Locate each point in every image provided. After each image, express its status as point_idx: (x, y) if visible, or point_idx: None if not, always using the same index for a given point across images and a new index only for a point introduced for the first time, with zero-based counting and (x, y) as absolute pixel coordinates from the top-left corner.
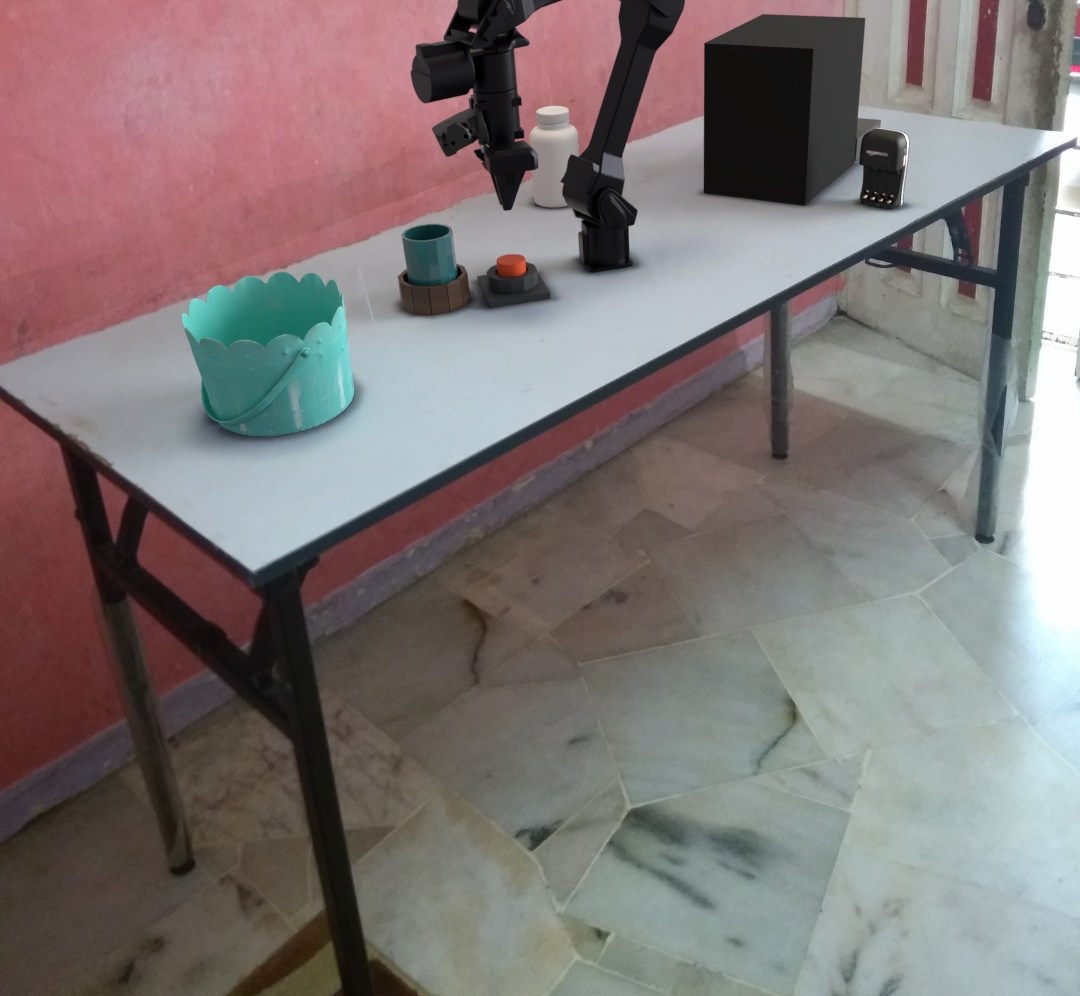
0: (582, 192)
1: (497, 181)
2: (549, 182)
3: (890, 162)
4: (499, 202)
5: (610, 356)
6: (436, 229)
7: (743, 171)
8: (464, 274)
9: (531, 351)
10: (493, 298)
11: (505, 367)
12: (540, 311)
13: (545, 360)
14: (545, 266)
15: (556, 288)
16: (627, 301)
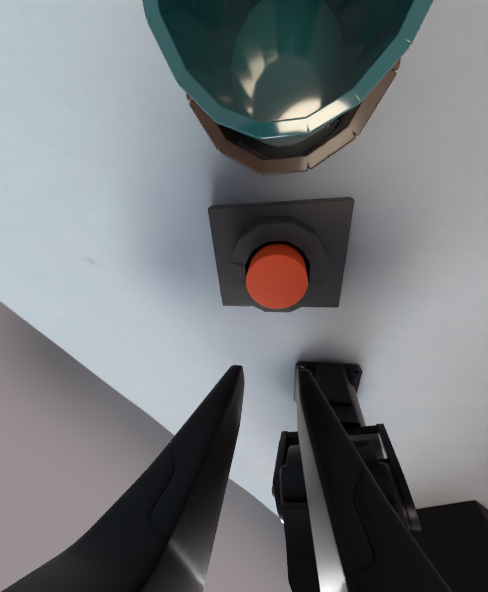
0: (306, 498)
1: (119, 498)
2: None
3: None
4: (300, 374)
5: (59, 318)
6: (389, 41)
7: (441, 547)
8: (249, 165)
9: (58, 242)
10: (222, 217)
11: (3, 198)
12: (185, 278)
13: (36, 253)
14: (358, 320)
15: (262, 314)
16: (196, 367)
